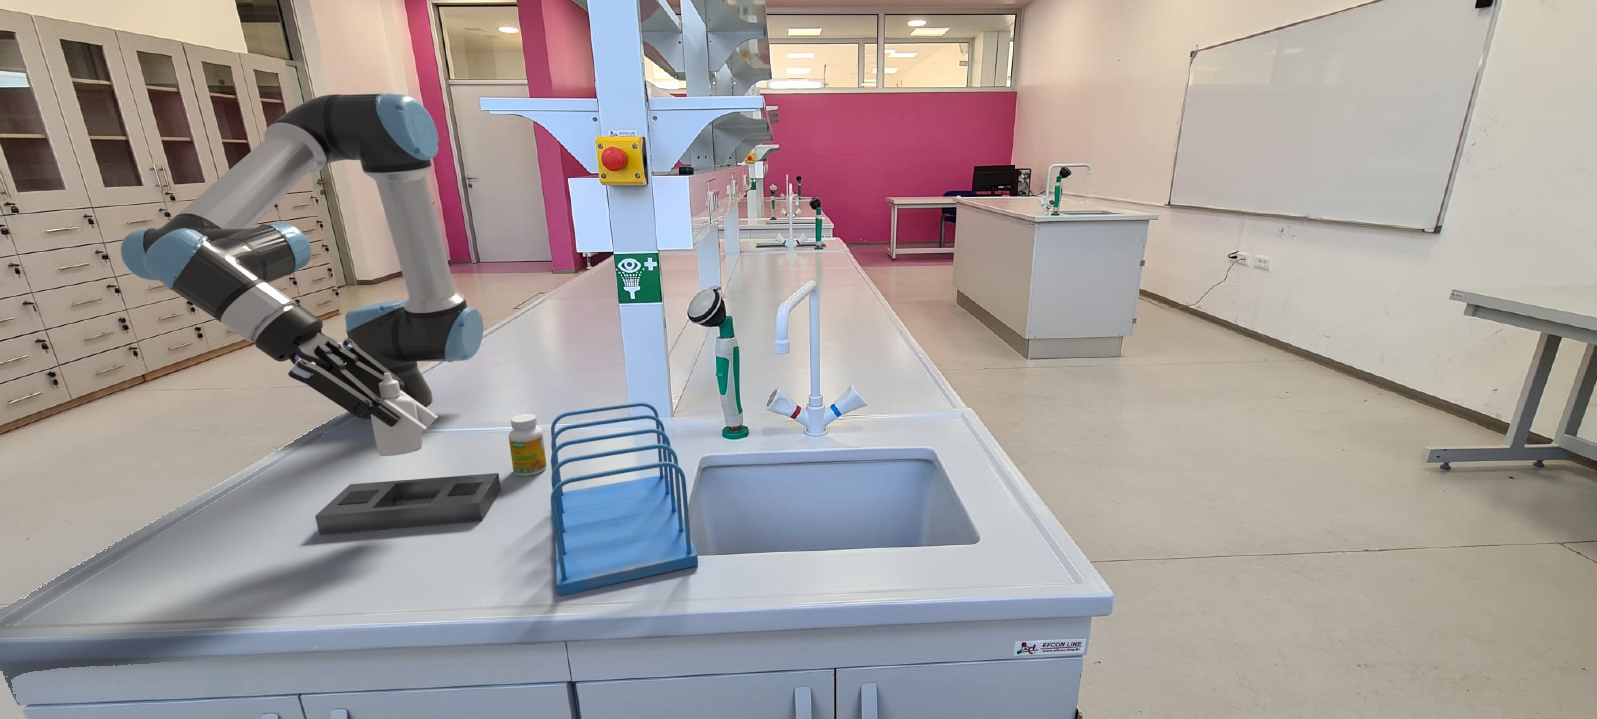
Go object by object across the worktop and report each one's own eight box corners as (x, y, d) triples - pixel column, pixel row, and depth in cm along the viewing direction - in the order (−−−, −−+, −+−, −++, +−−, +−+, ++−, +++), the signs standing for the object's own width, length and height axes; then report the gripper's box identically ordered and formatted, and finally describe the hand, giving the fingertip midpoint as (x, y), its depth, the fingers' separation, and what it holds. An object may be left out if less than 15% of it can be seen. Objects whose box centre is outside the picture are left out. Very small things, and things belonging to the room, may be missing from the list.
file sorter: (556, 503, 101) (544, 411, 97) (667, 485, 107) (661, 397, 103) (557, 597, 79) (542, 483, 74) (699, 567, 84) (692, 459, 80)
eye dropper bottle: (393, 444, 98) (378, 368, 95) (428, 445, 98) (415, 369, 94) (372, 456, 94) (357, 377, 91) (409, 457, 93) (395, 378, 90)
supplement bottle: (511, 478, 109) (503, 425, 107) (515, 465, 114) (508, 414, 112) (545, 474, 111) (538, 421, 108) (548, 461, 116) (541, 410, 113)
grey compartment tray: (354, 501, 102) (350, 483, 101) (501, 489, 106) (498, 472, 105) (319, 534, 93) (314, 515, 92) (482, 520, 96) (479, 502, 95)
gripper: (294, 330, 97) (431, 426, 104) (216, 360, 81) (383, 471, 88) (326, 294, 96) (461, 393, 103) (253, 316, 80) (419, 432, 87)
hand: (425, 428), depth 95 cm, fingers closed on eye dropper bottle, 4 cm apart
